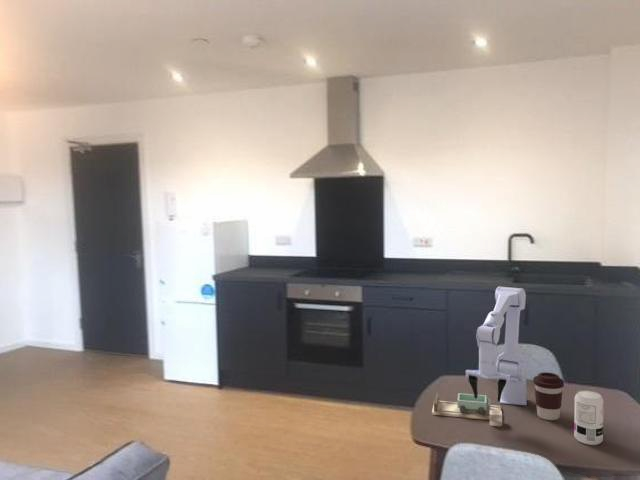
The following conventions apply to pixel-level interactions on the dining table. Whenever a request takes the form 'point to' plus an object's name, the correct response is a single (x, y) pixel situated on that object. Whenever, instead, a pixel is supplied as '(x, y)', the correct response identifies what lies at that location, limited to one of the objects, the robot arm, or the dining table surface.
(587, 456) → the dining table surface
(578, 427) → the supplement can
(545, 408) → the coffee cup
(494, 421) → the block
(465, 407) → the cart
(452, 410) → the track board
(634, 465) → the dining table surface
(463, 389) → the dining table surface
